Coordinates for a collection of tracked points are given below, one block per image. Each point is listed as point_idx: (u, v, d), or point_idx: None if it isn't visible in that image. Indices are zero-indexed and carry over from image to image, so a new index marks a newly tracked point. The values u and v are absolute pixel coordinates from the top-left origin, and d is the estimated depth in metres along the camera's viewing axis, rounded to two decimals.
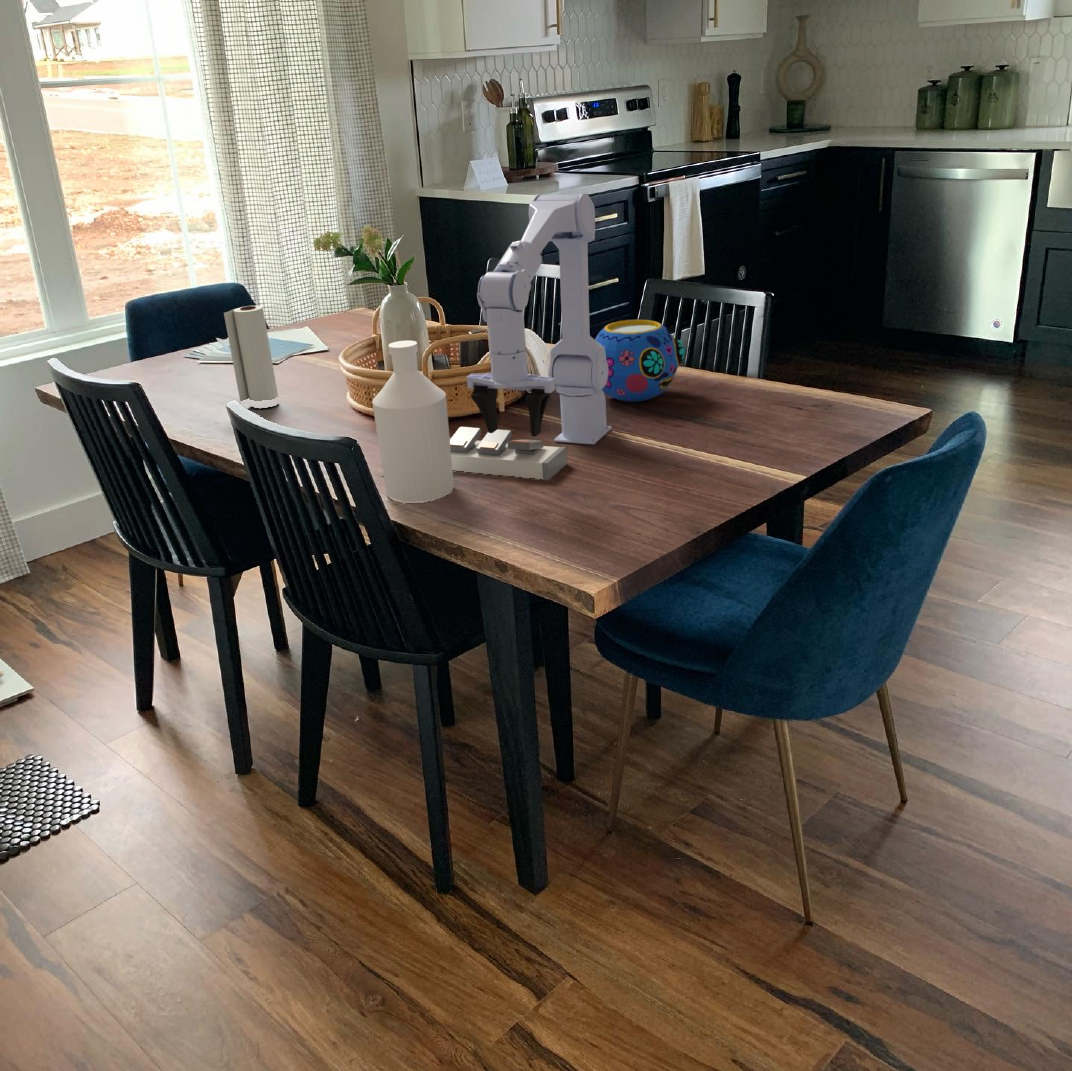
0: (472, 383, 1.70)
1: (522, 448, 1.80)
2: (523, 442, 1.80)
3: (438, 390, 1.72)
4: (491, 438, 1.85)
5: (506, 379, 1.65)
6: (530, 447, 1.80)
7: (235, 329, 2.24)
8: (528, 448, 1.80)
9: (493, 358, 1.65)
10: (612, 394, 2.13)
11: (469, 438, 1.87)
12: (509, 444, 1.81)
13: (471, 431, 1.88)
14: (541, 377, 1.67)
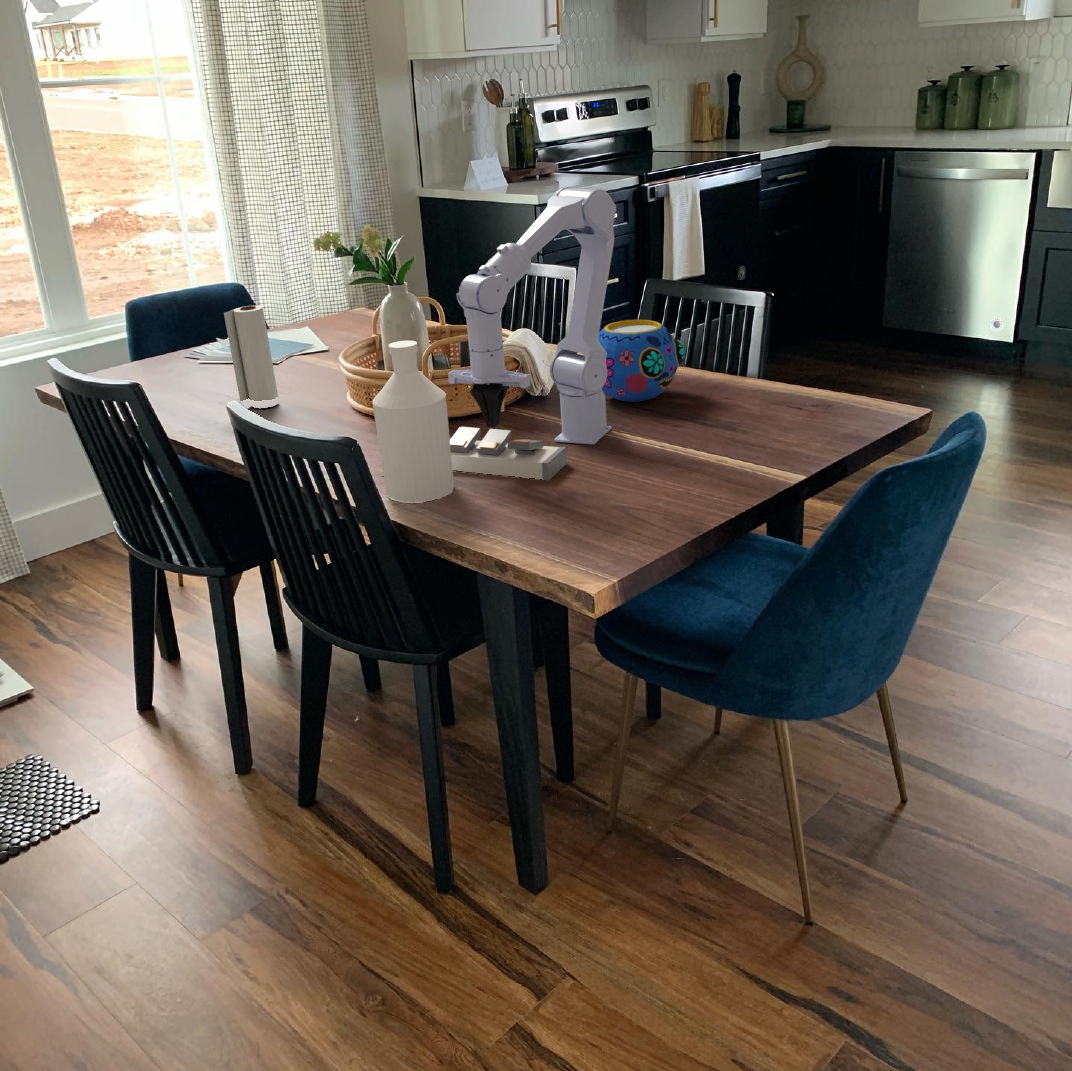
0: (453, 379, 1.83)
1: (522, 448, 1.80)
2: (523, 442, 1.80)
3: (438, 390, 1.72)
4: (491, 438, 1.85)
5: (484, 375, 1.78)
6: (530, 447, 1.80)
7: (235, 329, 2.24)
8: (528, 448, 1.80)
9: (472, 355, 1.78)
10: (612, 394, 2.13)
11: (469, 438, 1.87)
12: (509, 444, 1.81)
13: (471, 431, 1.88)
14: (517, 373, 1.80)
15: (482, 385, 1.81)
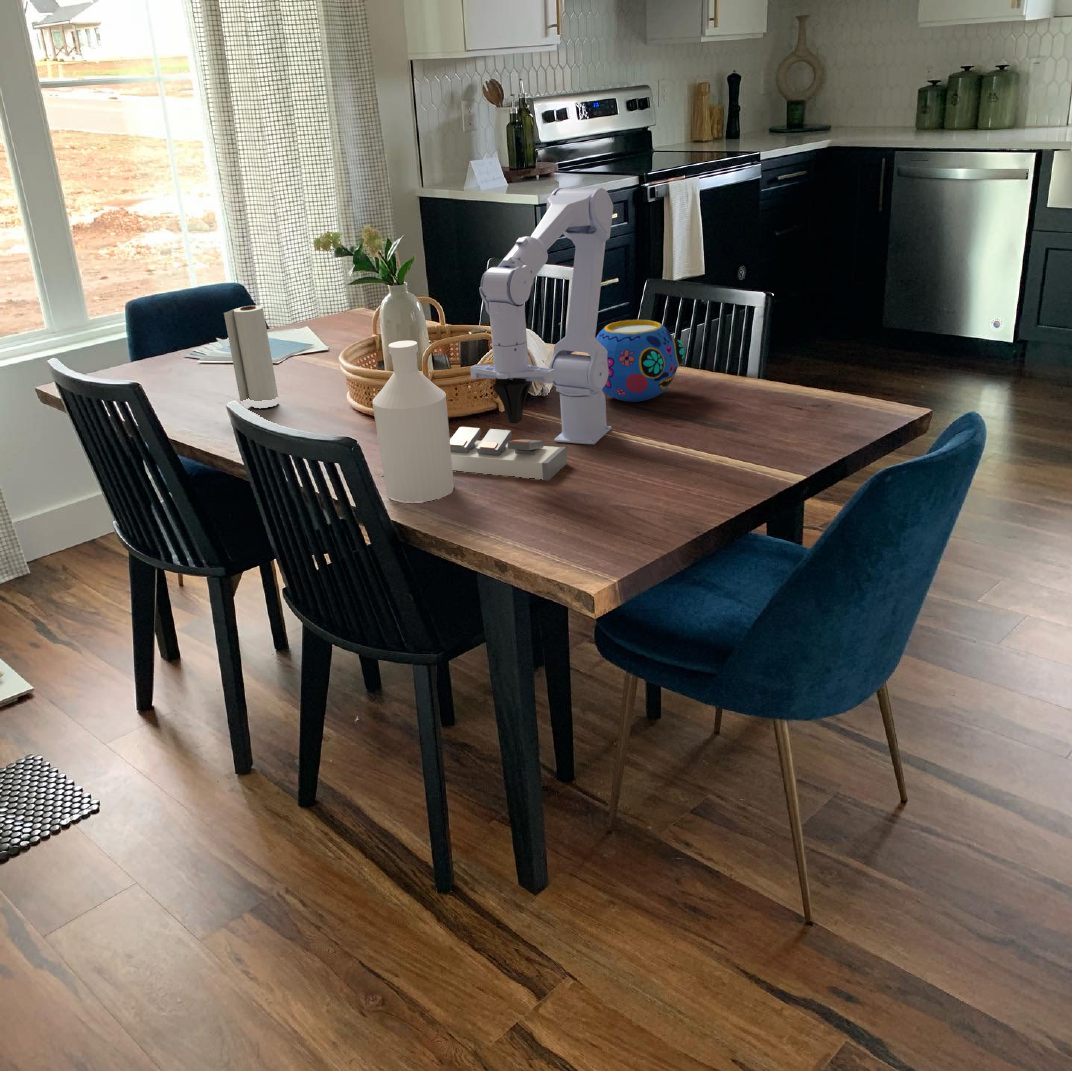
0: (475, 374, 1.78)
1: (522, 448, 1.80)
2: (523, 442, 1.80)
3: (438, 390, 1.72)
4: (491, 438, 1.85)
5: (508, 370, 1.73)
6: (530, 447, 1.80)
7: (235, 329, 2.24)
8: (528, 448, 1.80)
9: (495, 350, 1.73)
10: (612, 394, 2.13)
11: (469, 438, 1.87)
12: (509, 444, 1.81)
13: (471, 431, 1.88)
14: (541, 368, 1.75)
15: (505, 380, 1.76)
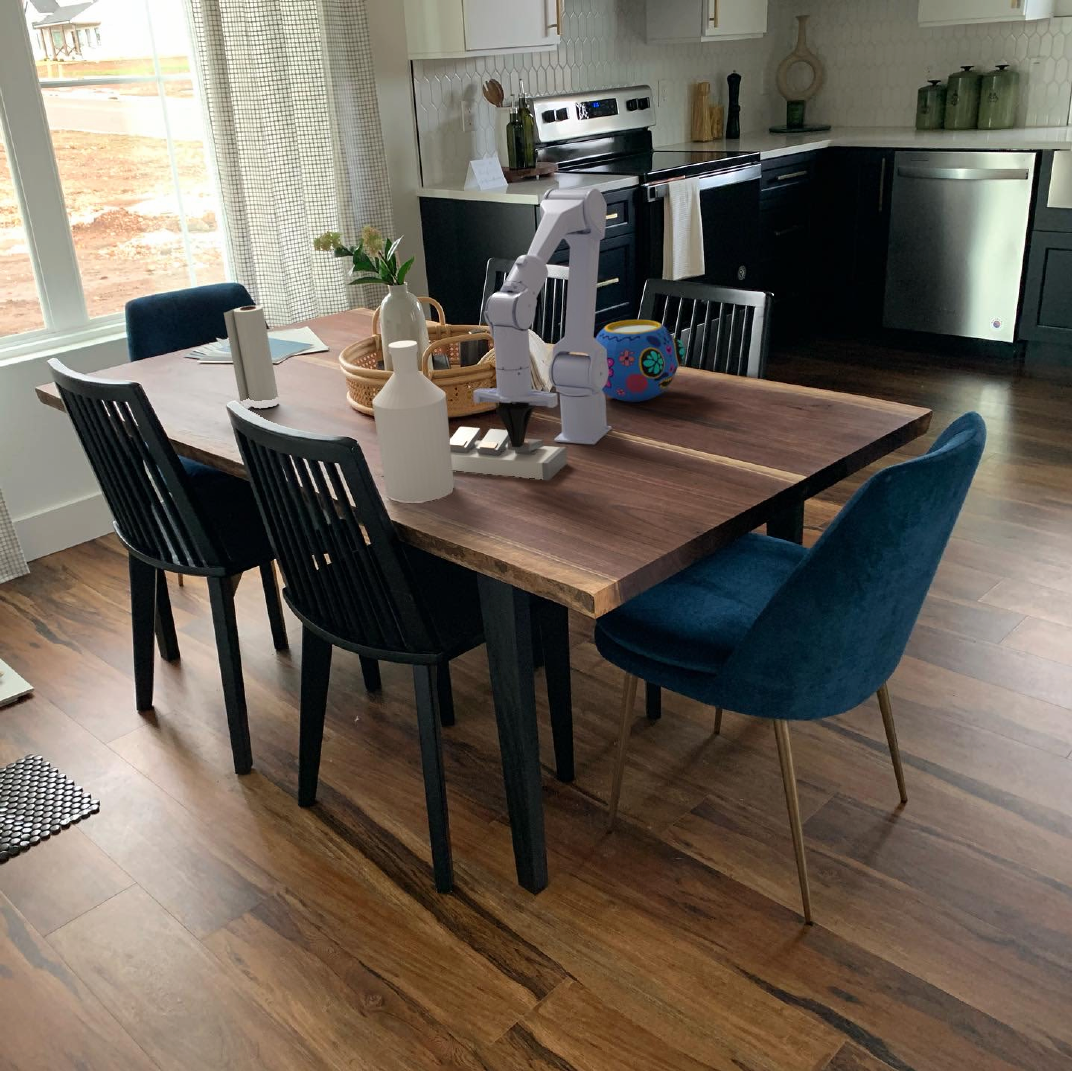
0: (478, 397, 1.79)
1: (522, 449, 1.80)
2: (523, 443, 1.80)
3: (438, 390, 1.72)
4: (491, 438, 1.85)
5: (511, 394, 1.74)
6: (530, 448, 1.80)
7: (235, 329, 2.24)
8: (528, 449, 1.80)
9: (499, 374, 1.74)
10: (612, 394, 2.13)
11: (469, 438, 1.87)
12: (509, 445, 1.81)
13: (471, 431, 1.88)
14: (544, 393, 1.76)
15: (508, 404, 1.77)
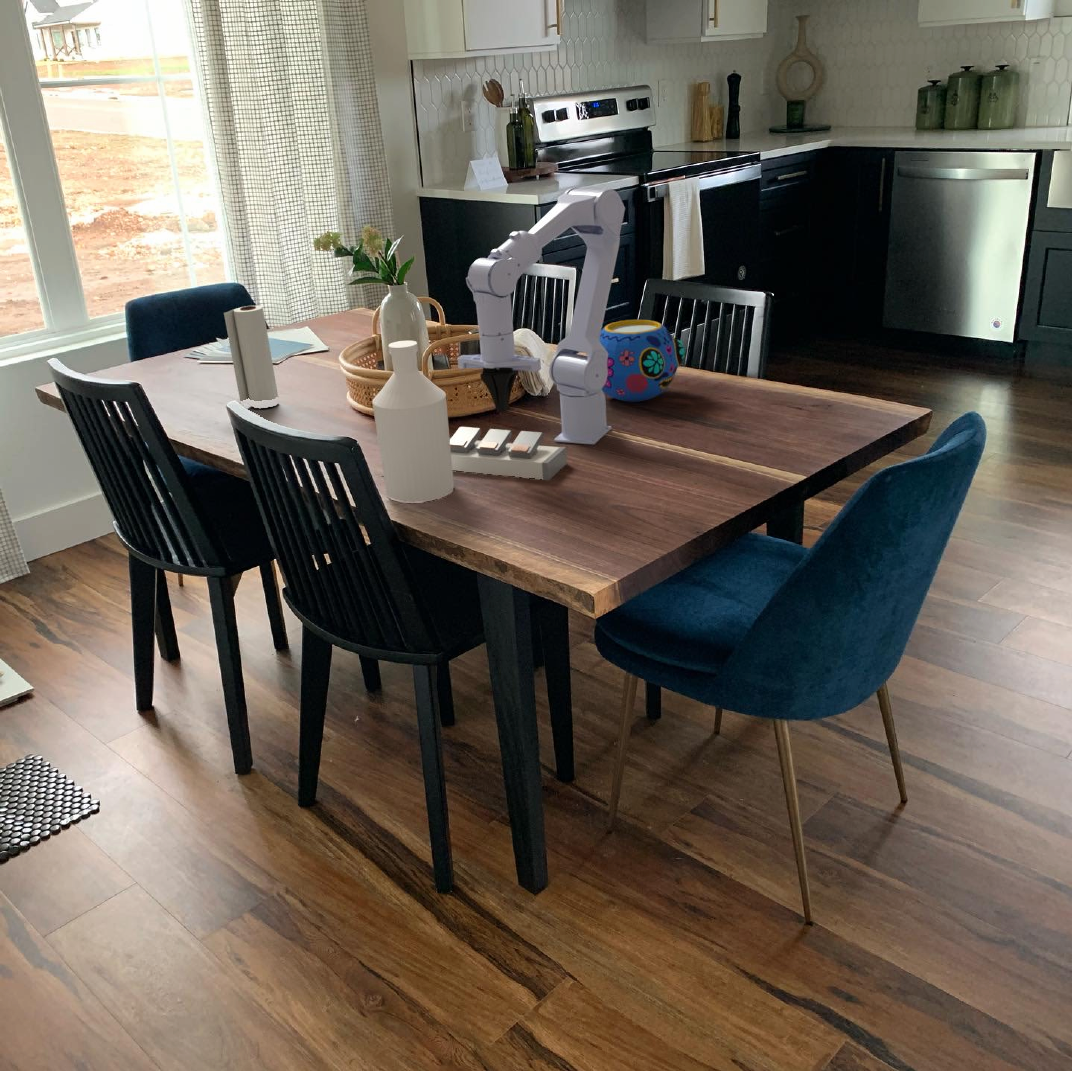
0: (463, 364, 1.81)
1: (523, 457, 1.81)
2: (523, 451, 1.80)
3: (438, 390, 1.72)
4: (491, 438, 1.85)
5: (495, 359, 1.77)
6: (530, 455, 1.81)
7: (235, 329, 2.24)
8: (529, 457, 1.81)
9: (482, 340, 1.76)
10: (612, 394, 2.13)
11: (469, 438, 1.87)
12: (510, 453, 1.82)
13: (471, 431, 1.88)
14: (527, 357, 1.79)
15: (492, 370, 1.80)
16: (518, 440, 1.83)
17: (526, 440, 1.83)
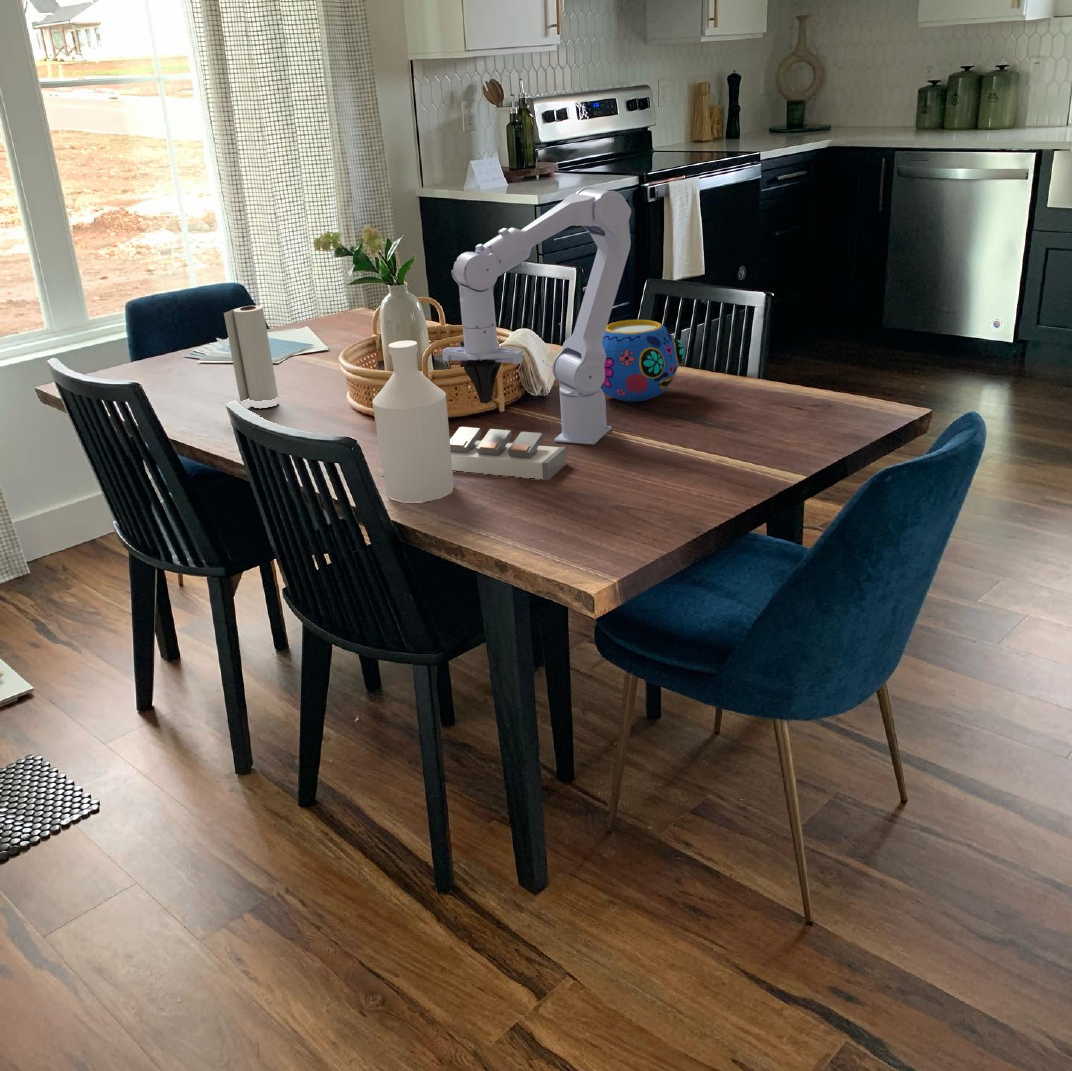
0: (447, 356, 1.86)
1: (523, 456, 1.81)
2: (523, 451, 1.80)
3: (438, 390, 1.72)
4: (491, 438, 1.85)
5: (477, 351, 1.81)
6: (530, 454, 1.81)
7: (235, 329, 2.24)
8: (529, 456, 1.80)
9: (465, 332, 1.81)
10: (612, 394, 2.13)
11: (469, 438, 1.87)
12: (509, 452, 1.82)
13: (471, 431, 1.88)
14: (510, 350, 1.83)
15: (475, 362, 1.84)
16: (518, 440, 1.83)
17: (526, 440, 1.83)
